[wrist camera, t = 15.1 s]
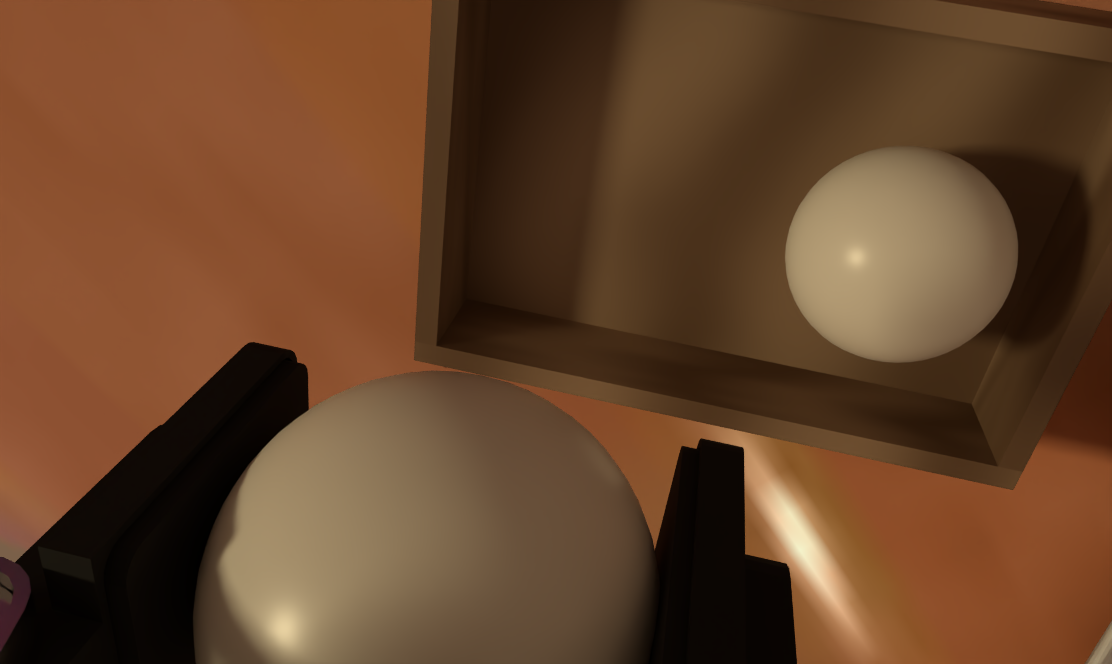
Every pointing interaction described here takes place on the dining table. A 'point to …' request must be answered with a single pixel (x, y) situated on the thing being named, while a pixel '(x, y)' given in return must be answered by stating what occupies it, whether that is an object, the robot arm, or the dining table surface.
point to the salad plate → (1102, 649)
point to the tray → (756, 207)
